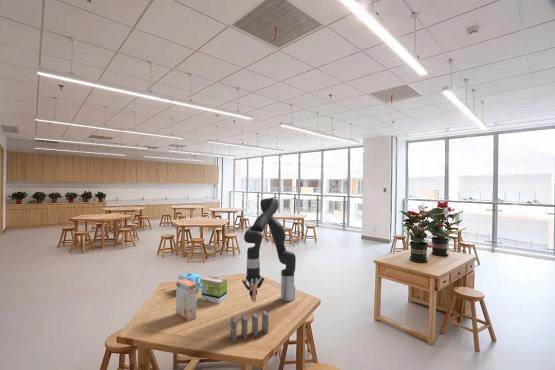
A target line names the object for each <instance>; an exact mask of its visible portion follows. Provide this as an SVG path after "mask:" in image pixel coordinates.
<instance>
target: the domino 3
mask: <svg viewBox="0 0 555 370" xmlns="http://www.w3.org/2000/svg"><path fill="white" fill-rule="evenodd" d="M252 290H253V292H252V293H253V295H252V297H251V296H250V295H249V296H250V300H251V301H252V302H253V303H255V302H257V295H256V284H255V283H253V289H252Z"/></svg>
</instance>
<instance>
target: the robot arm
mask: <svg viewBox="0 0 555 370" xmlns="http://www.w3.org/2000/svg"><path fill="white" fill-rule="evenodd" d="M279 206H280V205H279V200H278V199H277V198H276V197H269V198H267V197H266V198H263V199H261V200H260V209H261V211H262V213H261V214H260V215H258V216H257V218H256V219H255V221H254V222H253V224H252V225H251V226H250V227H249V228H248V229H247V230H246V231H245V232H244V235H243V240H244V242H245V243H248V244H254V246H250V247H248V248H247V250H246V251H247V252H246V276H245V279H242V280H241V282H242V284H243V285H244V287H245V288H246V290H247V291H249V293H248V294H249V296H251V297H252V295H253V293H252V292H253V290H252V289H253V283H255V284H256V296H257V295H258V289H260V288H261V287H262V284H263V283H264V281H265V278H264V277H262V276H261V260H260V250H261V245H262V243H263V232H264V230H265V228H266V226H267V225H268V227H269V231H270V233H271V236H272V239H273V242H274V245H275V249H276V253H277V257H278V260H279V262H280V264H283V265H285V268H284V269H282V270H281V272H280V274H281V275H280V299H281V300H282V301H283V302H292V301H294V300H296V285H295V271H296V263H297V259H296V254H295V253H294V252H291V251H288V250H287V249H286V246H285V241H286V232H285V229H284V226H283V224H281V222H280V221H279V220H278V219H276V217H275V216H274V215H275V214H276V212H277V211H278V209H279ZM247 283H248V284H247Z"/></svg>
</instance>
